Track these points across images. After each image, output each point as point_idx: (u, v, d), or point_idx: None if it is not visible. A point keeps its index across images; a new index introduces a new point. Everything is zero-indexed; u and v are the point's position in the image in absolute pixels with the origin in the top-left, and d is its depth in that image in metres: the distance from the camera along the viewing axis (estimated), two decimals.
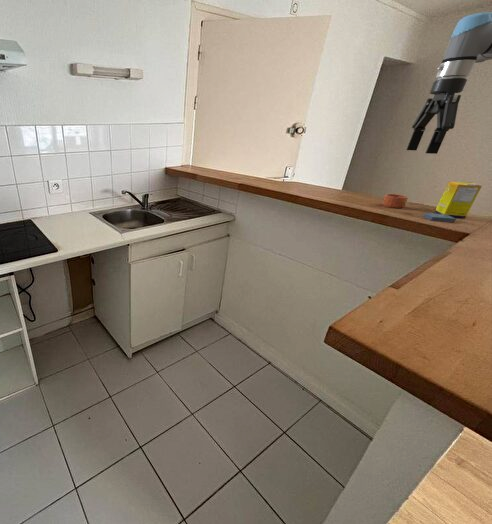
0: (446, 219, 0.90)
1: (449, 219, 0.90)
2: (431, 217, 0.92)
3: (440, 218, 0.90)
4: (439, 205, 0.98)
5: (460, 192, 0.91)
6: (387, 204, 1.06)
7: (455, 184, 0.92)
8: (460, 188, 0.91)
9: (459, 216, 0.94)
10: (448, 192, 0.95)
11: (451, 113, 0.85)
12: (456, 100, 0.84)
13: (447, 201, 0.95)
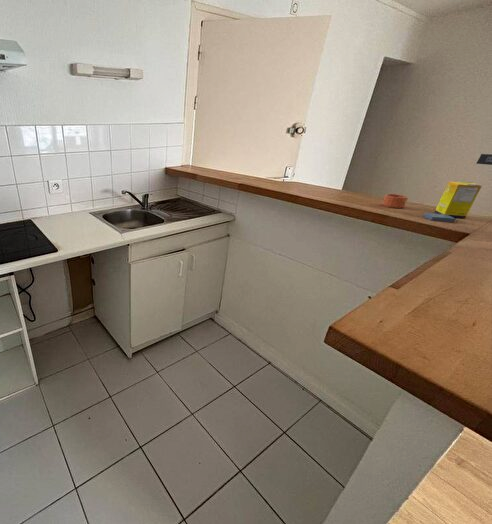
0: (446, 219, 0.90)
1: (449, 219, 0.90)
2: (431, 217, 0.92)
3: (440, 218, 0.90)
4: (439, 205, 0.98)
5: (460, 192, 0.91)
6: (387, 204, 1.06)
7: (455, 184, 0.92)
8: (460, 188, 0.91)
9: (459, 216, 0.94)
10: (448, 192, 0.95)
11: None
12: None
13: (446, 201, 0.95)
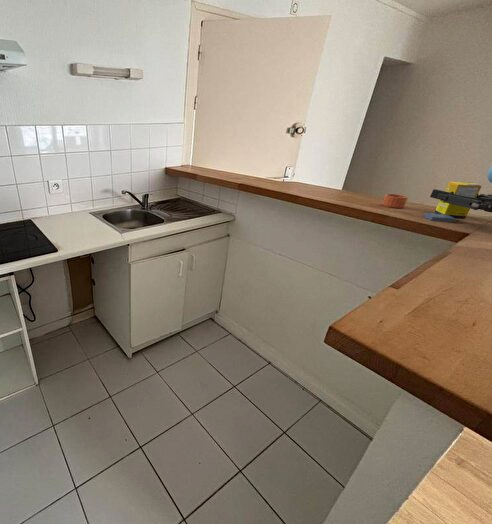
0: (446, 219, 0.90)
1: (449, 219, 0.90)
2: (431, 217, 0.92)
3: (440, 218, 0.90)
4: (439, 205, 0.98)
5: (460, 192, 0.91)
6: (387, 204, 1.06)
7: (455, 184, 0.92)
8: (460, 188, 0.91)
9: (459, 216, 0.94)
10: None
11: None
12: None
13: None
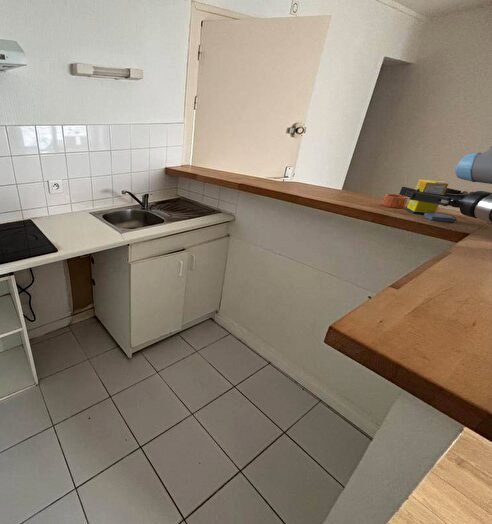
0: (446, 219, 0.90)
1: (449, 219, 0.90)
2: (431, 217, 0.92)
3: (440, 218, 0.90)
4: (410, 202, 1.01)
5: (428, 190, 0.94)
6: (387, 204, 1.06)
7: (424, 182, 0.95)
8: (428, 186, 0.94)
9: None
10: None
11: None
12: None
13: None
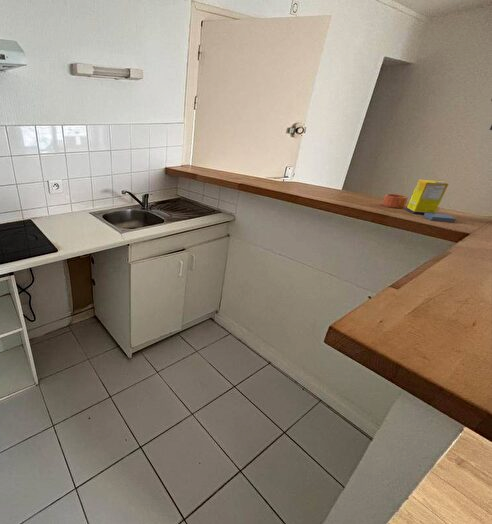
0: (446, 219, 0.90)
1: (449, 219, 0.90)
2: (431, 217, 0.92)
3: (440, 218, 0.90)
4: (410, 202, 1.01)
5: (428, 190, 0.94)
6: (387, 204, 1.06)
7: (424, 182, 0.95)
8: (428, 186, 0.94)
9: None
10: (418, 190, 0.98)
11: None
12: None
13: (416, 198, 0.98)
